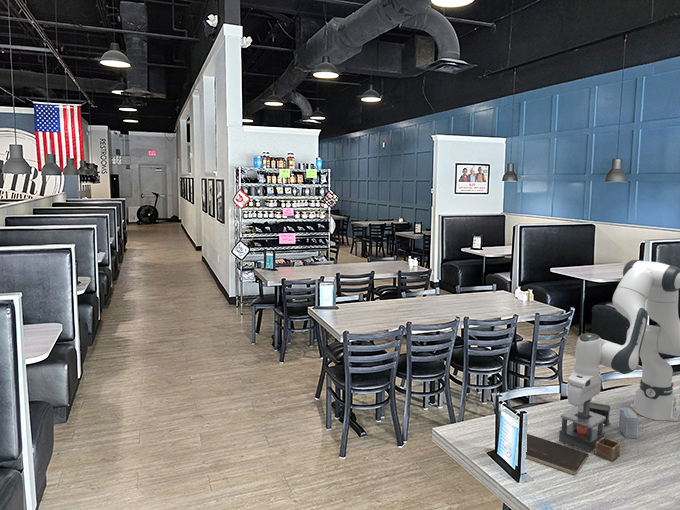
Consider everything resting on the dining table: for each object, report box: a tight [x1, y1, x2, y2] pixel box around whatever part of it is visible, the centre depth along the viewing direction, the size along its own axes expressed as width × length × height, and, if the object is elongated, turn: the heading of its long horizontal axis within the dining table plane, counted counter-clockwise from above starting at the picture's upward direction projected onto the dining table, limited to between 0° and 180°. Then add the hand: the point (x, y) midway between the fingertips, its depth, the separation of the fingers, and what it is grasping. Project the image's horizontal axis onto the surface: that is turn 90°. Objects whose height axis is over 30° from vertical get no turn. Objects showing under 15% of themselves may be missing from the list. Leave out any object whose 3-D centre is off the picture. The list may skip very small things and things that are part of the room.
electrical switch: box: [590, 400, 611, 426], centre depth 213 cm, size 9×5×9 cm, turn 64°
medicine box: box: [618, 408, 639, 439], centre depth 204 cm, size 8×4×9 cm, turn 168°
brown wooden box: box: [594, 436, 621, 463], centre depth 188 cm, size 6×6×5 cm
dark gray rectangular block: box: [577, 400, 590, 427], centre depth 196 cm, size 3×3×10 cm
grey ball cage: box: [558, 406, 606, 454], centre depth 197 cm, size 12×12×11 cm
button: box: [577, 425, 587, 436], centre depth 198 cm, size 4×4×5 cm
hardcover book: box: [526, 433, 589, 476], centre depth 188 cm, size 16×23×2 cm
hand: (583, 409), depth 196 cm, fingers closed on dark gray rectangular block, 3 cm apart
